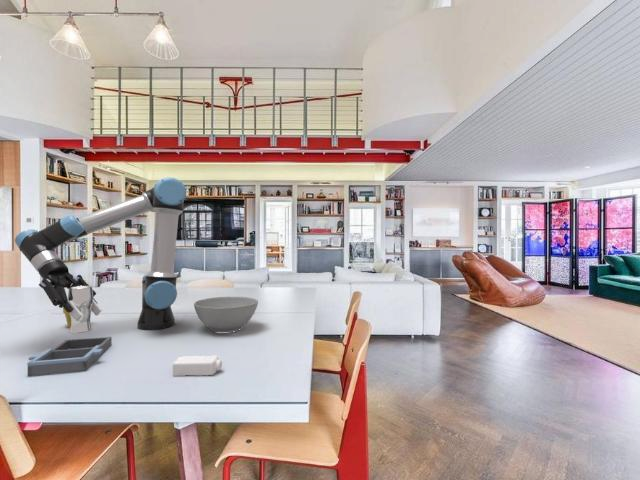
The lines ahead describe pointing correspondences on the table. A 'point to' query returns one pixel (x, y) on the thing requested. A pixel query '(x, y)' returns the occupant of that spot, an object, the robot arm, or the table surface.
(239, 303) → the decorative bowl
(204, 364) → the white bottle
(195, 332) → the table surface
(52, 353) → the open frame
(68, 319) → the yellow bowl
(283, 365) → the table surface
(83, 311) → the drinking glass
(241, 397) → the table surface
